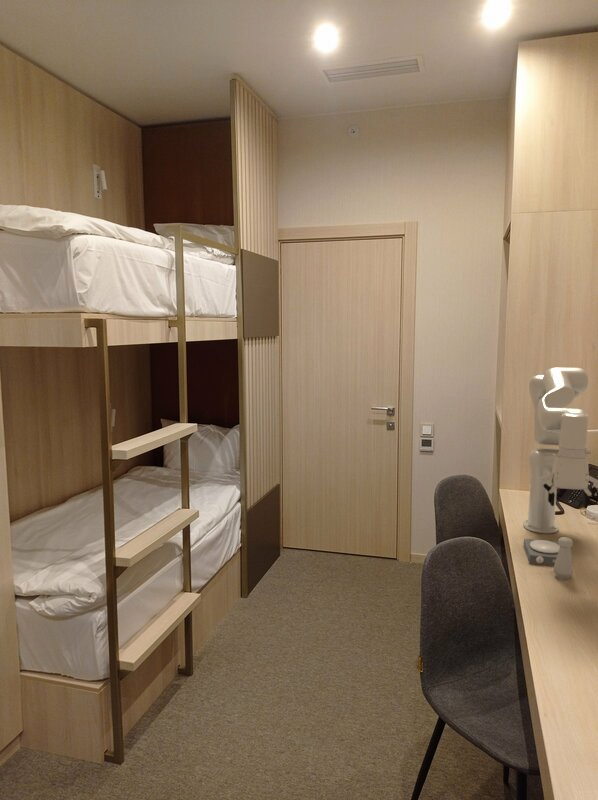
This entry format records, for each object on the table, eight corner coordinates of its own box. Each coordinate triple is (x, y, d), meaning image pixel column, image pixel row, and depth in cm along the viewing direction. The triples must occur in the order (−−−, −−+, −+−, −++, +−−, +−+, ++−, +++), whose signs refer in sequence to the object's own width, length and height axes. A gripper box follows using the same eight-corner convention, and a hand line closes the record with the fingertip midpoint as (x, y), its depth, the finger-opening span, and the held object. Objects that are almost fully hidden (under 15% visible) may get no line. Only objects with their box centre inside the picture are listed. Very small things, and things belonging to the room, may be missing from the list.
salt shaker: (561, 582, 183) (564, 543, 181) (549, 574, 189) (551, 536, 186) (577, 579, 185) (579, 541, 182) (564, 571, 190) (567, 534, 188)
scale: (523, 546, 210) (524, 536, 209) (559, 549, 207) (559, 539, 206) (529, 563, 196) (530, 553, 195) (567, 567, 193) (568, 556, 193)
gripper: (599, 451, 181) (595, 503, 184) (540, 448, 185) (536, 499, 188) (605, 457, 174) (601, 511, 177) (544, 454, 178) (540, 507, 181)
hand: (568, 505), depth 182 cm, fingers open, 9 cm apart
